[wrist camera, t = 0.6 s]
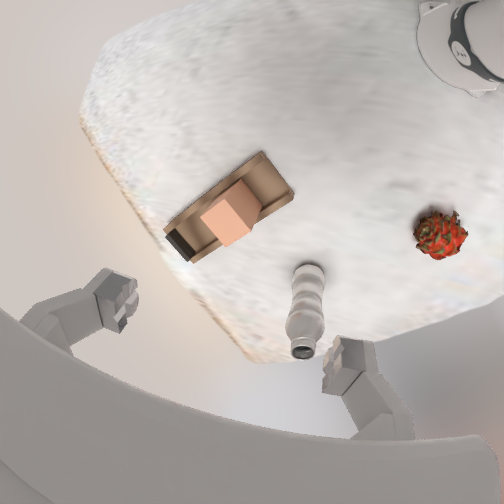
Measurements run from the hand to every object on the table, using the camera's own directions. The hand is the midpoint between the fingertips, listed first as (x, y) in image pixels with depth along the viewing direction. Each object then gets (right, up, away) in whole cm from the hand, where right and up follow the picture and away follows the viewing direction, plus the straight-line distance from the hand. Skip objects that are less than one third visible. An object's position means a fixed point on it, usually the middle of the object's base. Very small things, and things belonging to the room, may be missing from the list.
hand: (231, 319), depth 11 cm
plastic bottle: (+12, -2, +45) cm, 47 cm away
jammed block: (-1, +12, +38) cm, 40 cm away
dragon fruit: (+35, +8, +34) cm, 50 cm away
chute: (-4, +11, +41) cm, 43 cm away
